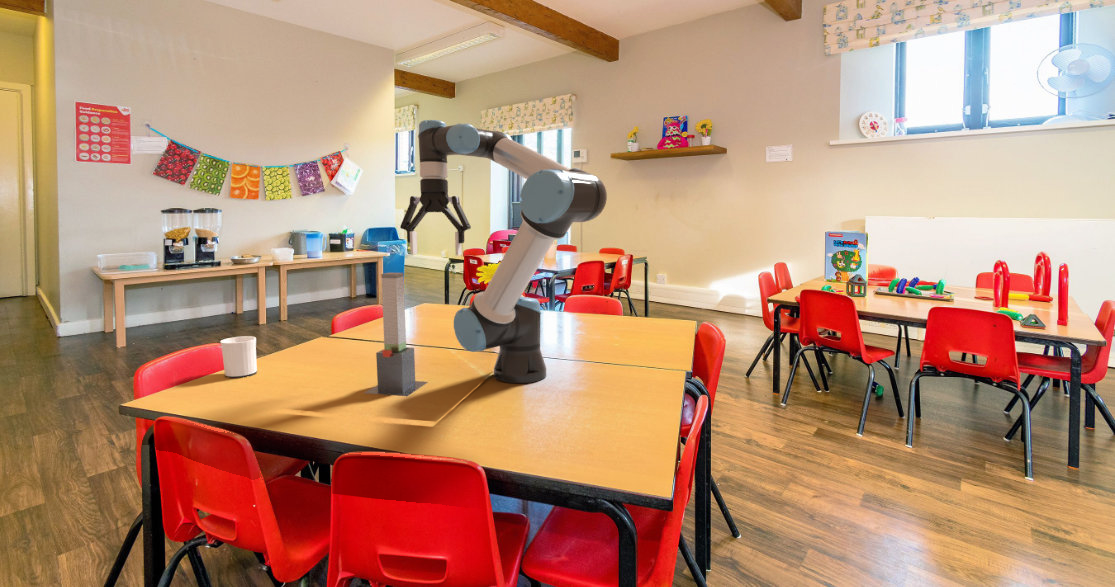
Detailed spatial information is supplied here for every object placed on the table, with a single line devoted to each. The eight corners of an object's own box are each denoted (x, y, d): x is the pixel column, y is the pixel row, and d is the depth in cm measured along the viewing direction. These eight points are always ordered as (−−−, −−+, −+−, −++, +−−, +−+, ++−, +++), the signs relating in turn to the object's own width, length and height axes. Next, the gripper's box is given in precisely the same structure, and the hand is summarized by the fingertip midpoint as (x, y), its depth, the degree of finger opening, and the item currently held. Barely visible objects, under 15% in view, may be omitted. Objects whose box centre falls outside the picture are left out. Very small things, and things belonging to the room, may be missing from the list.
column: (406, 359, 143) (403, 272, 140) (399, 363, 139) (395, 274, 136) (392, 358, 144) (389, 272, 141) (385, 362, 140) (381, 274, 137)
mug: (264, 373, 159) (262, 338, 157) (233, 380, 151) (230, 344, 150) (244, 367, 164) (242, 334, 163) (213, 374, 157) (210, 339, 156)
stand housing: (428, 385, 147) (426, 342, 146) (407, 400, 136) (405, 353, 134) (387, 382, 150) (386, 340, 148) (364, 396, 138) (361, 350, 137)
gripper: (480, 179, 153) (482, 254, 156) (399, 180, 158) (402, 253, 161) (471, 177, 145) (473, 256, 148) (386, 178, 150) (389, 254, 153)
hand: (436, 254), depth 155 cm, fingers open, 13 cm apart
